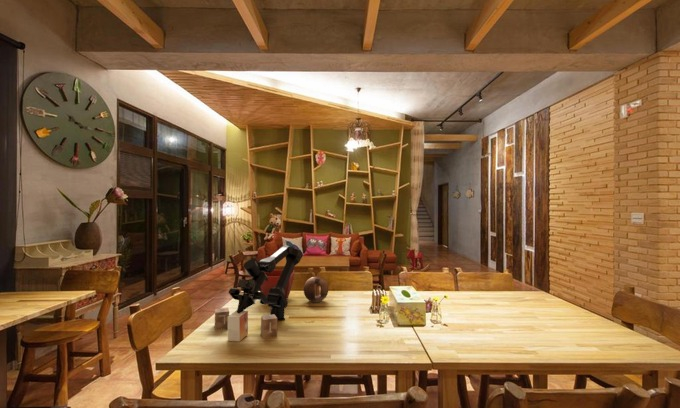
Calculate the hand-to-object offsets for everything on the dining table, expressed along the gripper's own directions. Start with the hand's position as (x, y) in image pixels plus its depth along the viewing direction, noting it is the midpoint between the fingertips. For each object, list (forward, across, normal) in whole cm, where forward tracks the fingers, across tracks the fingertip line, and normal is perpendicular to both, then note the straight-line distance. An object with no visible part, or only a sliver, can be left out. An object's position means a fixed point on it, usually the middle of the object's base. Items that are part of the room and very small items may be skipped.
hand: (237, 312), depth 143 cm
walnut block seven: (+2, -16, +13) cm, 21 cm away
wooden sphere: (-40, +2, +52) cm, 66 cm away
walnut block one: (+1, +9, +15) cm, 17 cm away
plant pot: (-33, -20, +46) cm, 60 cm away
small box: (+7, 0, +8) cm, 11 cm away
